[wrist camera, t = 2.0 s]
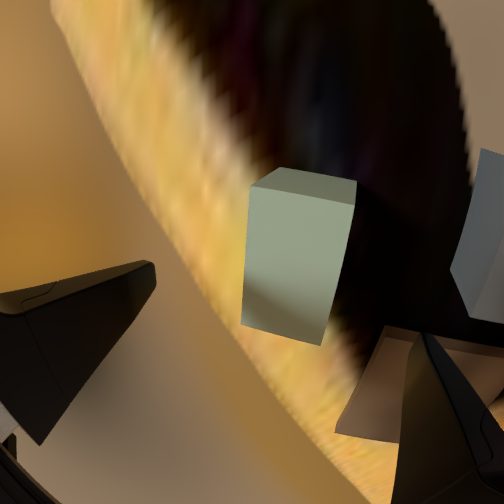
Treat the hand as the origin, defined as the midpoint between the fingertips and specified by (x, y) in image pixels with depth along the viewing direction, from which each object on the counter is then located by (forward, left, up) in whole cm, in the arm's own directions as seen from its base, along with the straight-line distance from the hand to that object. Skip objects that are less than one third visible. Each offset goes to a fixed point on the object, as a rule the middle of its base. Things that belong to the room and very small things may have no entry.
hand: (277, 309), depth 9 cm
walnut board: (-10, +9, -6) cm, 15 cm away
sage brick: (0, 0, -6) cm, 6 cm away
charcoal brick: (-9, -3, -6) cm, 11 cm away
